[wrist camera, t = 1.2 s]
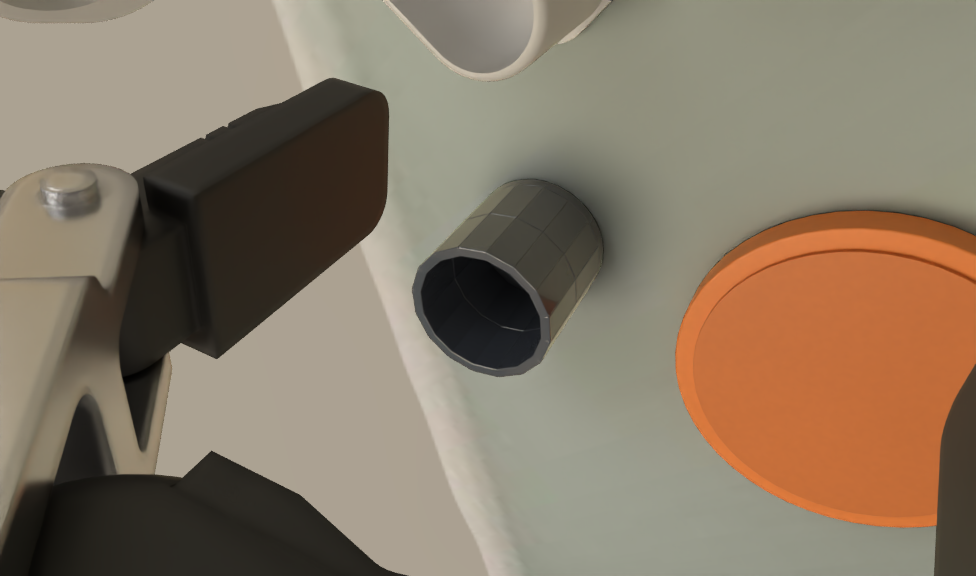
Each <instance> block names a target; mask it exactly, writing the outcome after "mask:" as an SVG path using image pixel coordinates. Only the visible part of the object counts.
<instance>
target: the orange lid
mask: <svg viewBox="0 0 976 576" xmlns="http://www.w3.org/2000/svg"><path fill="white" fill-rule="evenodd" d="M675 357H676V374H677V379H678V384H679V389H680V392H681V395H682V398H683V401H684V403H685V406H686V408H687V410H688V412H689V414H690V416H691V418H692V420H693V422H694V423H695V425H696V426H697V428H698V429H699V431H700V432H701V434H702V435H703V437H704V438H705V439H706V440H707V442H708V443H709V444H710V445H711V446H712V447H713V449H714V450H715V451H716V452H717V453H718V454H719V455H720V456H721V457H722V458H723V459H724V460H725V461H726V462H727V463H728V464H729V465H731V466H732V467H733V468H734V469H735V470H737V471H738V472H739V473H741V474H742V475H743V476H744V477H746V478H747V479H748V480H750V481H751V482H753V483H755V484H756V485H758V486H759V487H761V488H763V489H764V490H766V491H767V492H769V493H771V494H773V495H775V496H777V497H779V498H781V499H783V500H785V501H787V502H789V503H792V504H794V505H797V506H799V507H801V508H804V509H806V510H809V511H812V512H815V513H818V514H821V515H825V516H828V517H831V518H835V519H840V520H844V521H849V522H853V523H859V524H866V525H874V526H884V527H929V526H937V505H938V485H939V464H940V445H941V438H942V433H943V429H944V426H945V422H946V419H947V416H948V414H949V411H950V409H951V406H952V404H953V402H954V400H955V398H956V396H957V394H958V392H959V390H960V389H961V387H962V385H963V384H964V382H965V380H966V379H967V377H968V375H969V374H970V372H971V370H972V369H973V367H974V365H975V364H976V236H975V235H972V234H970V233H967V232H965V231H963V230H960V229H958V228H956V227H953V226H950V225H947V224H943V223H940V222H936V221H933V220H930V219H926V218H922V217H916V216H911V215H905V214H900V213H892V212H878V211H842V212H832V213H825V214H818V215H812V216H808V217H804V218H800V219H796V220H792V221H789V222H785V223H783V224H780V225H778V226H775V227H773V228H770V229H768V230H765V231H763V232H761V233H759V234H757V235H755V236H754V237H752V238H750V239H748V240H746V241H744V242H743V243H741V244H740V245H739V246H737V247H736V248H735V249H733V250H732V251H730V252H729V253H728V254H726V255H725V256H724V257H723V258H722V259H721V260H720V261H719V262H718V263H717V264H716V265H715V266H714V267H713V268H712V269H711V270H710V271H709V273H708V274H707V276H706V277H705V278H704V280H703V281H702V282H701V284H700V285H699V287H698V289H697V291H696V293H695V295H694V297H693V298H692V300H691V302H690V305H689V307H688V309H687V311H686V313H685V315H684V317H683V320H682V323H681V327H680V330H679V333H678V337H677V345H676V352H675Z"/></svg>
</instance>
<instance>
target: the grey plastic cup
mask: <svg viewBox="0 0 976 576" xmlns="http://www.w3.org/2000/svg"><path fill="white" fill-rule="evenodd" d="M602 260H603V242H602V237H601V233H600V230H599V228H598V225H597V223H596V221H595V219H594V218H593V216H592V215H591V213H590V212H589V210H588V209H587V208H586V207H585V206H584V204H583V203H581V202H580V201H579V200H578V199H577V198H576V197H575V196H573V195H572V194H571V193H570V192H568V191H566V190H565V189H563V188H561V187H559V186H557V185H555V184H552V183H549V182H546V181H541V180H535V179H521V180H515V181H511V182H509V183H506V184H504V185H502V186H500V187H498V188H497V189H496V190H495V191H493V192H492V193H491V194H490V195H489V196H488V197H487V198H486V199H485V200H484V201H483V202H482V203H481V204H480V205H479V206H478V207H477V208H476V209H475V210H474V211H473V212H472V213H471V214H470V215H469V216H468V217H467V218H466V219H465V220H464V221H463V222H462V223H461V224H460V225H459V226H458V227H457V228H456V229H455V230H454V231H453V232H452V233H451V234H450V235H449V236H448V237H447V239H446V240H445V241H444V242H443V243H442V244H441V245H440V246H439V247H438V248H437V249H436V250H435V251H434V252H433V253H432V254H431V255H430V256H429V257H428V258H427V259H426V260H425V261H424V262H423V263H422V264H421V265H420V266H419V268H418V270H417V273H416V277H415V280H414V283H413V287H412V293H413V299H414V306H415V312H416V315H417V316H418V318H419V320H420V322H421V324H422V326H423V327H424V329H425V331H426V333H427V335H428V336H429V338H430V339H431V340H432V341H433V342H434V343H435V344H436V345H437V346H438V347H439V348H440V349H441V350H442V351H443V352H444V353H445V354H446V355H447V356H449V357H450V358H451V359H453V360H455V361H456V362H458V363H460V364H462V365H463V366H465V367H467V368H469V369H470V370H473V371H475V372H479V373H483V374H487V375H492V376H496V377H504V376H513V375H521V374H524V373H525V372H527V371H529V370H530V369H532V368H533V367H535V366H536V365H538V364H539V363H541V361H542V360H543V359H544V357H545V356H546V354H547V352H548V351H549V349H550V348H551V346H552V345H553V343H554V342H555V340H556V339H557V337H558V336H559V334H560V333H561V331H562V330H563V328H564V326H565V325H566V323H567V322H568V320H569V319H570V317H571V316H572V314H573V313H574V311H575V310H576V308H577V307H578V305H579V304H580V302H581V300H582V299H583V297H584V296H585V294H586V293H587V291H588V290H589V288H590V286H591V284H592V282H593V281H594V279H595V277H596V276H597V274H598V272H599V270H600V267H601V264H602Z"/></svg>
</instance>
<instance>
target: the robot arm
mask: <svg viewBox="0 0 976 576" xmlns="http://www.w3.org/2000/svg"><path fill="white" fill-rule="evenodd" d="M388 136H389V108H388V103H387V100H386V98H385V96H384V95H383V94H382V93H381V92H379V91H376V90H373V89H369V88H366V87H363V86H359V85H356V84H353V83H349V82H346V81H343V80H340V79H336V78H329V79H326V80H324V81H322V82H320V83H318V84H317V85H315V86H313V87H311V88H309V89H307V90H305V91H303V92H301V93H300V94H298V95H296V96H294V97H292V98H290V99H288V100H286V101H285V102H282V103H280V104H275V105H272V106H267V107H263V108H259V109H255V110H253V111H251V112H249V113H248V114H246V115H244V116H242V117H240V118H238V119H236V120H234V121H232V122H230V123H229V124H228V127H224V126H222V127H220V128H218V129H217V130H215V131H213V132H211V133H209V134H207V135H206V138H205V139H203V138H199V139H197V140H196V141H194V142H191V143H189V144H188V145H186V146H184V147H182V148H180V149H178V150H176V151H174V152H172V153H170V154H168V155H167V156H164V157H163V158H161V159H159V160H157V161H155V162H153V163H151V164H149V165H147V166H145V167H143V168H141V169H139V170H137V171H135V172H133V173H132V174H129V173H127V172H125V171H123V170H121V169H119V168H116V167H112V166H107V165H102V164H90V163H80V164H67V165H60V166H55V167H50V168H46V169H42V170H39V171H36V172H34V173H31V174H29V175H26V176H24V177H22V178H20V179H19V180H17V181H16V182H14V183H13V184H12V185H10V186H9V187H8V188H7V190H6V191H4V190H0V576H407V575H403V574H398V573H395V572H392V571H388V570H386V569H384V568H382V567H380V566H379V565H378V564H376V563H375V562H374V561H373V560H371V559H370V558H369V557H368V556H367V555H366V554H365V553H364V552H363V551H362V550H360V549H359V548H358V547H357V546H356V545H355V544H354V543H353V542H352V541H350V540H349V539H348V538H347V537H346V536H345V535H344V534H343V533H342V532H340V531H339V530H338V529H337V528H336V527H335V526H334V525H333V524H332V523H331V522H329V521H328V520H327V519H326V518H325V517H324V516H323V515H322V514H321V513H320V512H318V511H317V510H316V509H315V508H314V507H313V506H312V505H311V504H310V503H308V502H307V501H306V500H305V499H304V498H303V497H302V496H301V495H299V494H297V493H295V492H293V491H291V490H289V489H287V488H285V487H283V486H281V485H279V484H277V483H275V482H273V481H271V480H269V479H267V478H265V477H263V476H261V475H259V474H257V473H255V472H253V471H251V470H248V469H247V468H245V467H243V466H241V465H239V464H237V463H235V462H233V461H231V460H229V459H227V458H225V457H223V456H221V455H219V454H217V453H215V452H213V451H211V452H210V453H209V454H208V455H206V456H205V457H204V458H203V459H202V460H201V461H200V462H199V463H198V464H197V465H196V466H195V467H194V468H193V469H192V470H190V471H189V472H188V473H187V474H186V475H185V476H184V477H183V478H181V477H173V476H164V475H155V469H156V463H157V457H158V451H159V445H160V439H161V433H162V427H163V421H164V416H165V410H166V404H167V398H168V392H169V386H170V380H171V374H172V365H171V360H170V355H169V351H171V350H172V349H173V348H175V347H176V346H177V345H178V344H180V343H183V344H185V345H187V346H189V347H191V348H194V349H196V350H198V351H200V352H202V353H205V354H207V355H209V356H211V357H213V358H215V359H218V358H219V357H220V356H221V355H223V354H224V353H225V352H226V351H227V350H229V349H230V348H231V347H232V346H234V345H235V344H236V343H237V342H239V341H240V340H241V339H242V338H243V337H245V336H246V335H247V334H248V333H249V332H251V331H252V330H253V329H254V328H256V327H257V326H258V325H259V324H260V323H262V322H263V321H264V320H265V319H266V318H268V317H269V316H270V315H271V314H273V313H274V312H275V311H276V310H277V309H279V308H280V307H281V306H282V305H284V304H285V303H286V302H287V301H288V300H290V299H291V298H292V297H293V296H295V295H296V294H297V293H298V292H299V291H301V290H302V289H303V288H304V287H306V286H307V285H308V284H309V283H310V282H312V281H313V280H314V279H315V278H317V277H318V276H319V275H320V274H321V273H322V272H324V271H325V270H326V269H327V268H329V267H330V266H331V265H332V264H333V263H335V262H336V261H337V260H338V259H340V258H341V257H342V256H343V255H345V254H346V253H347V252H348V251H349V250H351V249H352V248H353V247H354V246H356V245H357V244H358V243H359V242H360V241H362V240H363V239H364V238H365V237H366V236H368V235H369V234H370V233H371V232H372V231H373V230H374V228H375V227H376V225H377V224H378V222H379V220H380V218H381V216H382V214H383V211H384V208H385V204H386V199H387V183H388ZM934 576H976V364H975V365H974V367H973V369H972V370H971V372H970V374H969V375H968V377H967V379H966V380H965V382H964V384H963V385H962V387H961V389H960V390H959V392H958V394H957V396H956V398H955V400H954V402H953V404H952V406H951V409H950V411H949V414H948V416H947V419H946V422H945V426H944V429H943V433H942V438H941V445H940V464H939V485H938V505H937V526H936V547H935V568H934Z"/></svg>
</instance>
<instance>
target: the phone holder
mask: <svg viewBox="0 0 976 576" xmlns="http://www.w3.org/2000/svg"><path fill="white" fill-rule="evenodd" d="M152 1H154V0H0V17H2V18H6V19H9V20H14V21H19V22H27V23H95V22H103V21H108V20H112V19H116V18H119V17H122V16H125V15H128V14H130V13H133V12H135V11H137V10H139V9H141V8H142V7H144V6H146V5H148V4H149V3H151V2H152ZM383 1H384V2H385V4H386V5H387V6H388V7H389V8H390V9H391V10H392V11H393V12H394V13H395V14H396V15H397V16H398V17H399V18H400V19H401V20H402V22H403V23H404V24H405V25H406V26H407V27H408V28H409V29H410V30H411V31H412V32H413V33H414V34H415V35H416V36H417V37H418V38H419V40H420V41H421V42H422V43H423V44H424V45H425V46H426V47H427V48H428V49H429V50H430V51H431V52H432V53H433V54H434V55H435V56H436V58H437V59H439V60H440V61H441V62H442V63H443V64H444V65H445V66H447V67H448V68H449V69H451V70H452V71H454V72H456V73H458V74H459V75H462V76H464V77H466V78H470V79H473V80H478V81H489V82H490V81H499V80H504V79H507V78H510V77H512V76H514V75H516V74H518V73H520V72H521V71H523V70H524V69H526V68H527V67H528V66H529V65H530V64H532V63H533V62H534V61H535V60H537V59H538V58H539V57H540V56H542V55H543V54H544V53H545V52H547V51H548V50H549V49H550V48H552V47H553V46H554V45H555V44H562V43H565V42H568V41H570V40H572V39H573V38H575V37H576V36H577V35H578V34H580V33H581V32H582V31H583V30H584V29H585V28H586V27H587V26H588V25H589V24H590V23H591V22H592V21H593V20H594V19H595V18H596V17H597V16H598V15H599V14H600V13H601V12H602V11H603V10H604V9H605V8H606V7H607V6H608V5H609V3H610V2H611V1H612V0H383Z"/></svg>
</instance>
